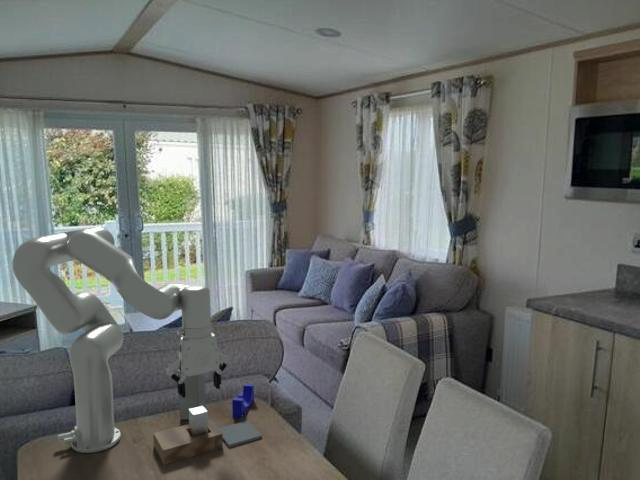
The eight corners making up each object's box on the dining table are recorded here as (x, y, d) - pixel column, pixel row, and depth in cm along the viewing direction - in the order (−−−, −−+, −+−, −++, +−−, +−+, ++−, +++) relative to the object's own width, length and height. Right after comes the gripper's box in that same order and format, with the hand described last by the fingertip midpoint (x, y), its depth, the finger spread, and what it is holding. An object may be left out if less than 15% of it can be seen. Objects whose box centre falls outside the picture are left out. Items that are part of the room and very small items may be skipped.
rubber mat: (229, 447, 137) (228, 444, 137) (216, 431, 145) (216, 429, 145) (262, 437, 142) (262, 435, 142) (247, 422, 150) (247, 420, 150)
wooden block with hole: (163, 464, 128) (163, 450, 128) (153, 446, 137) (153, 433, 136) (222, 447, 137) (222, 433, 136) (209, 431, 145) (209, 418, 145)
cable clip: (241, 400, 166) (240, 383, 165) (253, 401, 165) (253, 384, 164) (228, 417, 154) (227, 399, 153) (241, 419, 153) (241, 400, 152)
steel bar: (194, 449, 136) (193, 415, 134) (189, 442, 139) (188, 409, 138) (208, 445, 138) (207, 411, 136) (203, 438, 141) (202, 405, 140)
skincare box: (200, 420, 151) (199, 371, 149) (177, 420, 151) (175, 370, 149) (207, 407, 160) (206, 360, 158) (185, 407, 160) (183, 360, 158)
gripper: (168, 341, 126) (172, 404, 129) (232, 329, 135) (234, 388, 138) (161, 333, 133) (164, 394, 135) (222, 322, 142) (224, 379, 144)
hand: (200, 391), depth 136 cm, fingers open, 9 cm apart
